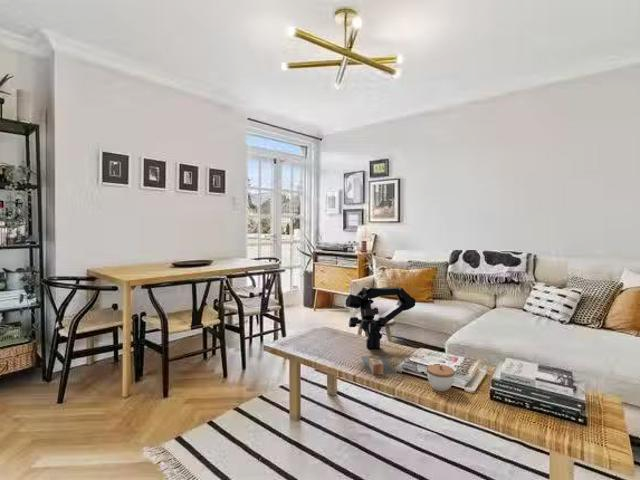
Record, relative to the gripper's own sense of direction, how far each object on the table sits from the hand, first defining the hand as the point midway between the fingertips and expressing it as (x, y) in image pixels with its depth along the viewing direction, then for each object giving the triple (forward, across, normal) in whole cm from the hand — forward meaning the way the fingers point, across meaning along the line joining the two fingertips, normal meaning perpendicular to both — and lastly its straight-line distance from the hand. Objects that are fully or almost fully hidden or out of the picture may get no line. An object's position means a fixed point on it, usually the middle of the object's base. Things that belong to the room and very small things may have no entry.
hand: (370, 337), depth 180 cm
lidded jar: (+30, +22, -16) cm, 41 cm away
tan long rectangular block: (+12, 0, -1) cm, 12 cm away
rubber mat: (+13, +2, +2) cm, 13 cm away
